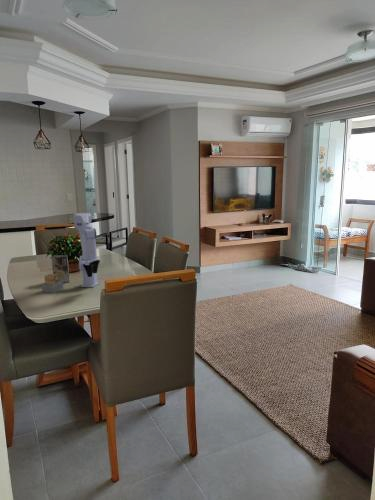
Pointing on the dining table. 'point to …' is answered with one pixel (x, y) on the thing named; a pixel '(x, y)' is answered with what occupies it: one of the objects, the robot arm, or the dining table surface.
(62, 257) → the coffee box
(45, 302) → the dining table surface
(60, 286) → the slate block
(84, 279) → the robot arm
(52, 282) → the oak cube
